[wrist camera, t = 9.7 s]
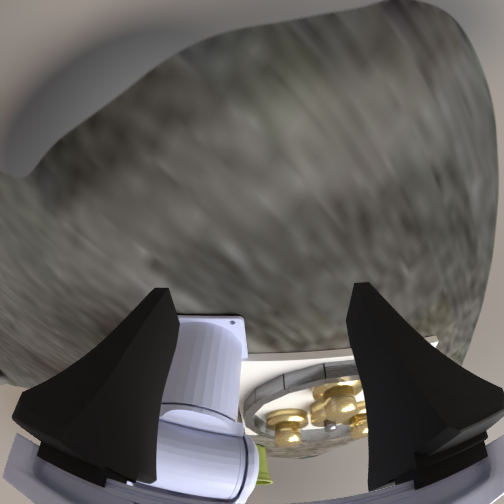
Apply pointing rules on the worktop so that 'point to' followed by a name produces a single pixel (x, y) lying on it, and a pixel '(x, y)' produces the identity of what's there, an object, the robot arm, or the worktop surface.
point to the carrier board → (274, 364)
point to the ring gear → (294, 383)
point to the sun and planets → (312, 423)
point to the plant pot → (263, 468)
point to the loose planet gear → (338, 399)
